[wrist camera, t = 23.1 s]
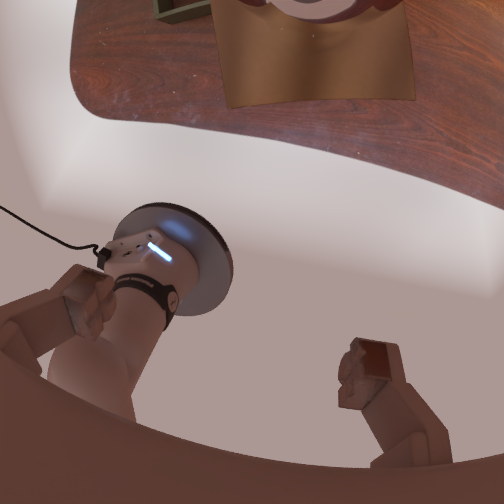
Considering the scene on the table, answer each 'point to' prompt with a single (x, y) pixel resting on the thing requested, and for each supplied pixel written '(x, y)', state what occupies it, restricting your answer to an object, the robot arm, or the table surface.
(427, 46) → the table surface
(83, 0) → the table surface
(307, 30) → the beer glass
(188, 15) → the holder
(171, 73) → the table surface
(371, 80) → the square wooden board
